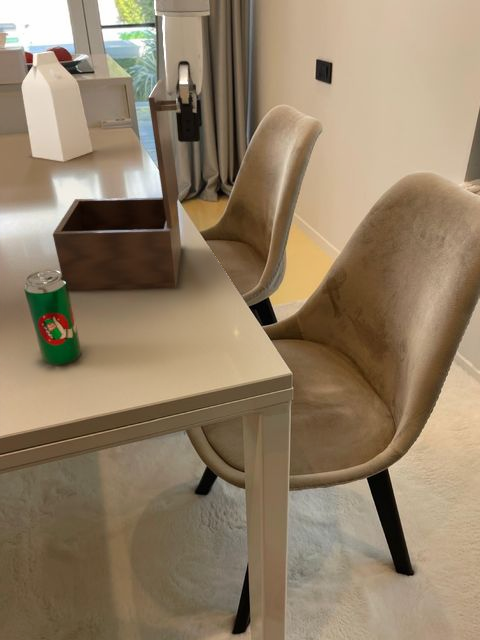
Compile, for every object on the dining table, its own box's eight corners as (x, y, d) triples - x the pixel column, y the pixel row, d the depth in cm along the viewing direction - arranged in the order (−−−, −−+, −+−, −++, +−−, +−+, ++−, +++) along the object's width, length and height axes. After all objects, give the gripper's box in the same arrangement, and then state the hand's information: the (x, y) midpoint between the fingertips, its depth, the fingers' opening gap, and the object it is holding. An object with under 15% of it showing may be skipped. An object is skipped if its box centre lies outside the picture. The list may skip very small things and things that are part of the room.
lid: (148, 97, 76) (187, 95, 76) (159, 79, 89) (192, 77, 89) (167, 228, 87) (202, 226, 87) (174, 194, 100) (204, 192, 100)
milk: (62, 147, 167) (43, 49, 153) (92, 151, 163) (76, 51, 149) (32, 156, 158) (9, 53, 144) (63, 162, 154) (43, 56, 140)
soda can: (58, 343, 79) (39, 265, 72) (89, 350, 77) (72, 271, 71) (35, 363, 75) (12, 282, 68) (67, 370, 73) (47, 289, 67)
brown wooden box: (65, 291, 92) (52, 233, 86) (85, 251, 105) (75, 199, 99) (175, 288, 92) (170, 231, 87) (181, 248, 106) (176, 197, 100)
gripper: (160, 0, 84) (170, 121, 93) (147, 6, 70) (161, 148, 79) (210, 0, 84) (215, 121, 94) (208, 6, 70) (214, 147, 80)
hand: (190, 133), depth 86 cm, fingers open, 9 cm apart
